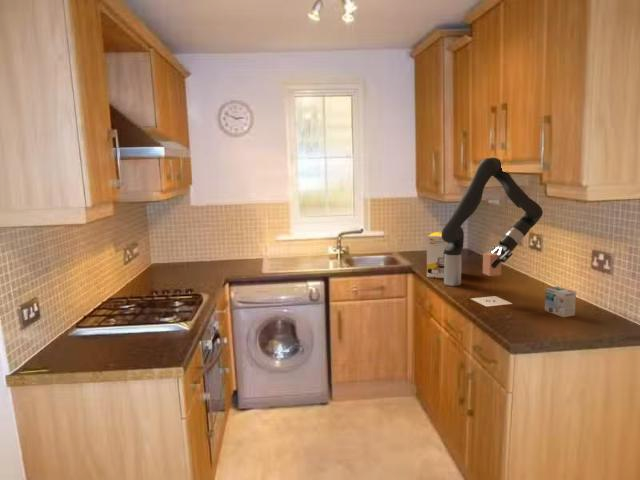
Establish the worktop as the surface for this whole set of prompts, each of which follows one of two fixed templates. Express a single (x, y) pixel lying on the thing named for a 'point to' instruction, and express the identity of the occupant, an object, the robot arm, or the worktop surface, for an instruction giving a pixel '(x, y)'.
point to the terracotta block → (488, 261)
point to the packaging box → (435, 255)
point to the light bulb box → (560, 301)
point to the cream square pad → (491, 301)
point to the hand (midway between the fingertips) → (488, 265)
